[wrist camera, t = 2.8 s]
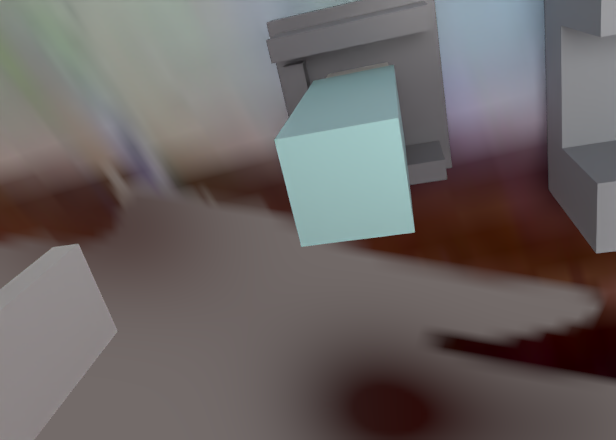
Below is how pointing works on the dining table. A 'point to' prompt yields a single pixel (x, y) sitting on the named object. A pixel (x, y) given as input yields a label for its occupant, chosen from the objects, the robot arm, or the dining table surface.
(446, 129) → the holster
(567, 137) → the port
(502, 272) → the dining table surface
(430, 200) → the dining table surface
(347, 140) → the plug
